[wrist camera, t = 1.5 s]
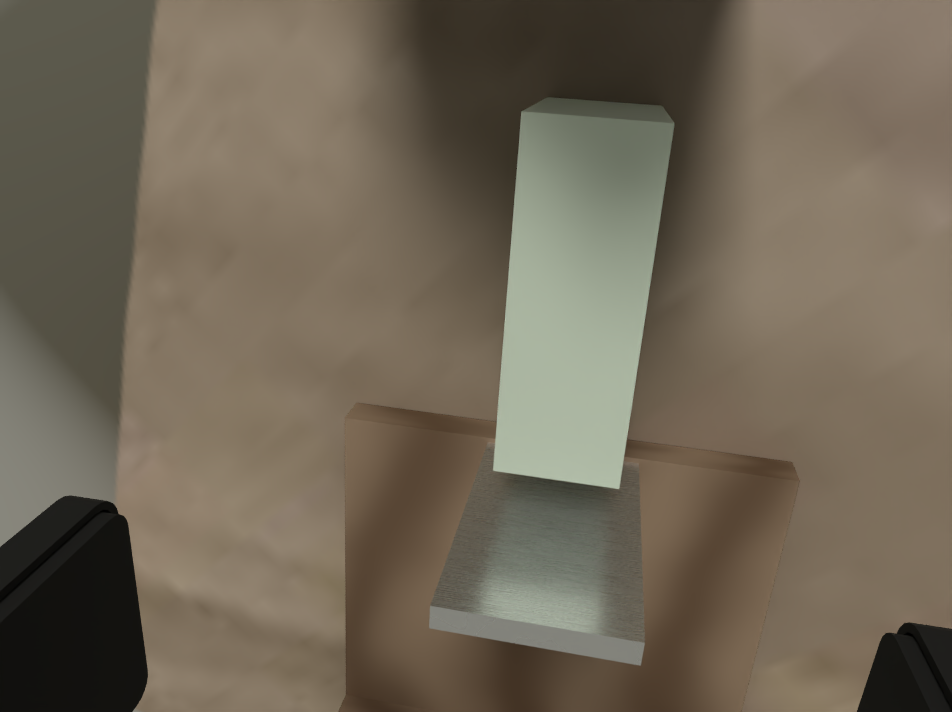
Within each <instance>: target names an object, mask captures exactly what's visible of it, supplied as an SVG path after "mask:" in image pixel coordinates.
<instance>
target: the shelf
mask: <svg viewBox="0 0 952 712" xmlns="http://www.w3.org/2000/svg"><path fill="white" fill-rule="evenodd" d="M496 427H497V422H494V421H486V420H479V419H472V418H464V417H457V416H450V415H442V414H435V413H428V412H420V411H413V410H405V409H398V408H391V407H383V406H376V405H369V404H361V403H356V404H355V405H354V407H353V408H352V409H351V411H350V412H349V413H348V415H347V416H346V417H345V572H346V696H345V698H344V700H343V702H342V705H341V707H340V709H339V712H742V708H743V704H744V700H745V696H746V693H747V689H748V685H749V681H750V677H751V673H752V669H753V665H754V661H755V657H756V653H757V649H758V645H759V641H760V637H761V633H762V629H763V625H764V621H765V617H766V613H767V609H768V606H769V602H770V598H771V594H772V590H773V586H774V582H775V578H776V574H777V570H778V566H779V562H780V558H781V554H782V550H783V546H784V542H785V538H786V534H787V530H788V526H789V523H790V519H791V515H792V511H793V507H794V503H795V499H796V495H797V491H798V487H799V483H800V480H799V478H798V475H797V473H796V471H795V468H794V466H793V463H792V462H788V461H780V460H773V459H766V458H758V457H751V456H744V455H736V454H729V453H722V452H714V451H707V450H700V449H692V448H685V447H677V446H670V445H663V444H655V443H648V442H641V441H633V440H627V441H626V448H625V454H624V461H623V467H622V474H621V481H620V487H619V489H615V488H608V487H601V486H594V485H587V484H581V483H574V482H567V481H560V480H553V479H546V478H539V477H533V476H526V475H519V474H512V473H505V472H498V471H493V464H494V452H495V439H496Z"/></svg>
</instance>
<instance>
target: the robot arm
mask: <svg viewBox="0 0 952 712" xmlns="http://www.w3.org/2000/svg"><path fill="white" fill-rule="evenodd" d="M147 678H148V670H147V662H146V655H145V647H144V640H143V632H142V625H141V617H140V610H139V602H138V595H137V587H136V580H135V572H134V565H133V557H132V550H131V542H130V535H129V528H128V523H127V520H126V518H125V517H124V516H122V515H119V514H118V511H117V508H116V507H115V505H114V504H113V503H111V502H108V501H103V500H97V499H90V498H83V497H77V496H65V497H63V498H61V499H59V500H58V501H56V502H55V503H54V504H52V505H51V506H50V507H49V508H47V509H46V510H45V511H44V512H42V513H41V514H40V515H39V516H38V517H36V518H35V519H34V520H33V521H31V522H30V523H29V524H28V525H27V526H26V527H24V528H23V529H22V530H20V531H19V532H18V533H17V534H16V535H14V536H13V537H12V538H11V539H9V540H8V541H7V542H6V543H5V544H3V545H2V546H1V547H0V712H132V711H133V710H134V709H135V707H136V706H137V704H138V703H139V701H140V700H141V698H142V695H143V693H144V691H145V687H146V684H147ZM857 712H952V629H949V628H942V627H935V626H929V625H922V624H916V623H904V624H903V625H902V626H901V627H900V628H899V630H898V632H897V634H894V633H886V634H885V635H884V636H883V637H882V639H881V641H880V644H879V647H878V650H877V653H876V656H875V659H874V662H873V665H872V668H871V671H870V674H869V677H868V680H867V683H866V686H865V689H864V692H863V695H862V698H861V701H860V704H859V707H858V710H857Z"/></svg>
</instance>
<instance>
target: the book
mask: <svg viewBox="0 0 952 712" xmlns="http://www.w3.org/2000/svg"><path fill="white" fill-rule="evenodd" d="M674 124H675V123H674V122H673V120H672V119H671V117H670V116H669V115H668V113H667V112H666V110H665V109H664V108H663V106H660V105H647V104H633V103H620V102H606V101H593V100H579V99H566V98H552V97H547V98H545V99H543V100H541V101H539V102H538V103H536V104H534V105H532V106H530V107H529V108H527V109H525V110H523V111H521V123H520V136H519V149H518V161H517V174H516V187H515V199H514V212H513V224H512V237H511V250H510V262H509V275H508V288H507V300H506V313H505V326H504V338H503V351H502V363H501V376H500V389H499V401H498V414H497V427H496V439H495V452H494V464H493V471H498V472H505V473H512V474H519V475H526V476H533V477H539V478H546V479H553V480H560V481H567V482H574V483H581V484H587V485H594V486H601V487H608V488H615V489H619V487H620V481H621V474H622V467H623V461H624V454H625V448H626V441H627V434H628V428H629V421H630V415H631V408H632V401H633V395H634V388H635V382H636V375H637V368H638V362H639V355H640V349H641V342H642V335H643V329H644V322H645V316H646V309H647V302H648V296H649V289H650V283H651V276H652V269H653V263H654V256H655V250H656V243H657V236H658V230H659V223H660V217H661V210H662V203H663V197H664V190H665V184H666V177H667V170H668V164H669V157H670V151H671V144H672V137H673V131H674Z"/></svg>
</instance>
